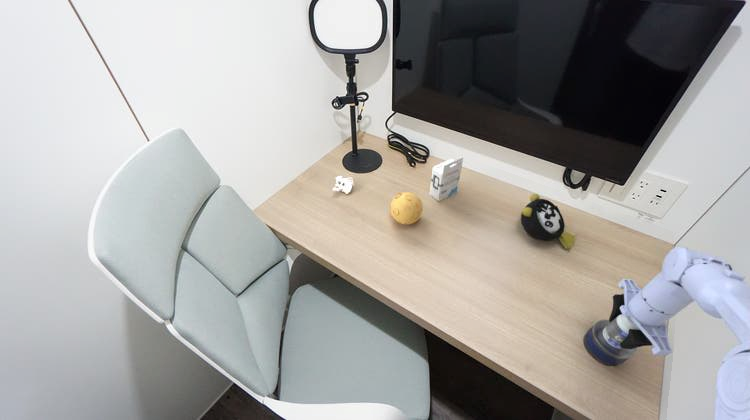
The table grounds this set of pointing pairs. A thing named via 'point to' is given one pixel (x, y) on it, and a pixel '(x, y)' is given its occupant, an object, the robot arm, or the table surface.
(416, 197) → the stress ball
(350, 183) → the anatomical pelvis
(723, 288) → the robot arm
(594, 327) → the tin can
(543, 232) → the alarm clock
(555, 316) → the table surface
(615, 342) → the pill bottle
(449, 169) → the ink box
